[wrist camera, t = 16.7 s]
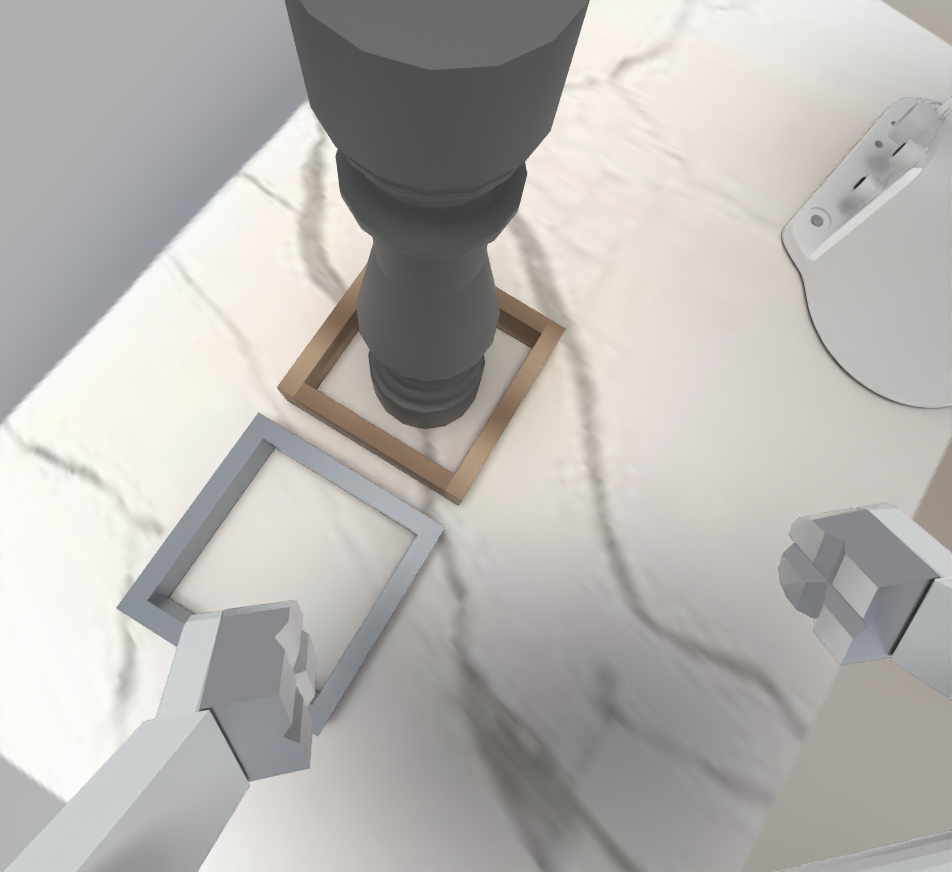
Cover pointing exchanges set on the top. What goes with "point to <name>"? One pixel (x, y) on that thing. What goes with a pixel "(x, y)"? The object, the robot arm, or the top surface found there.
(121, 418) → the top surface
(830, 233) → the robot arm
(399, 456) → the walnut frame
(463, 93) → the candle holder
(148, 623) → the charcoal frame
